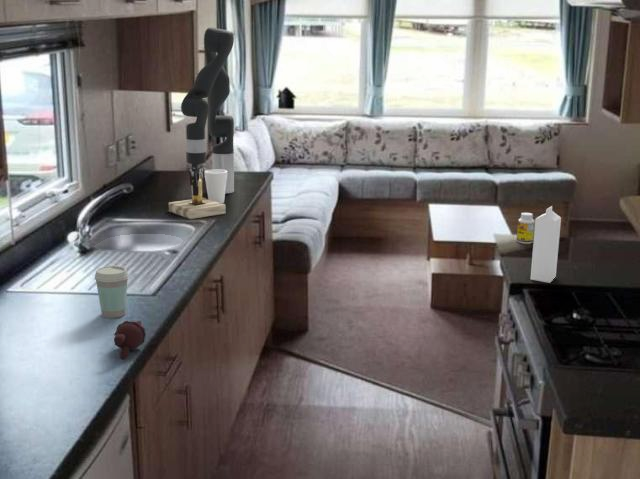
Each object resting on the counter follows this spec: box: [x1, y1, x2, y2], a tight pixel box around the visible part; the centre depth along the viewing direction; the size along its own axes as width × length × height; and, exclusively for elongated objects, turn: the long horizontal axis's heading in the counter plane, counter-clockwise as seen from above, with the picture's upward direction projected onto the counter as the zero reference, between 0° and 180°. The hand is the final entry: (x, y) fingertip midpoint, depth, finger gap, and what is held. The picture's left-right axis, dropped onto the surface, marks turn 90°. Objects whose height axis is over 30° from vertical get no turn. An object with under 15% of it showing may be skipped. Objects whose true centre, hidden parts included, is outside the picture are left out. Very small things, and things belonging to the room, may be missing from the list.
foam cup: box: [203, 168, 227, 204], centre depth 346 cm, size 10×9×13 cm
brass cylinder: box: [191, 179, 203, 206], centre depth 327 cm, size 4×4×10 cm
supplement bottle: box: [516, 212, 535, 245], centre depth 293 cm, size 6×6×10 cm
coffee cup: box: [94, 265, 130, 319], centre depth 216 cm, size 8×8×12 cm
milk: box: [529, 205, 562, 284], centre depth 250 cm, size 6×6×22 cm
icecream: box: [113, 320, 147, 360], centre depth 195 cm, size 7×7×15 cm
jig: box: [168, 197, 227, 220], centre depth 329 cm, size 16×16×4 cm
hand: (197, 194), depth 328 cm, fingers closed on brass cylinder, 4 cm apart
